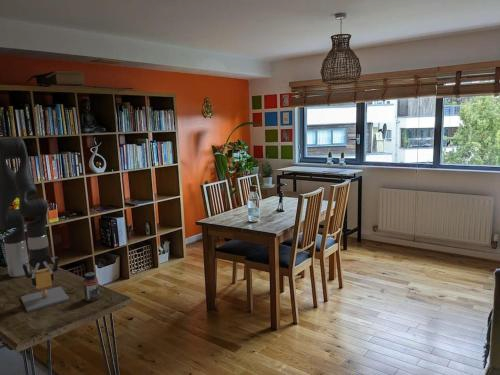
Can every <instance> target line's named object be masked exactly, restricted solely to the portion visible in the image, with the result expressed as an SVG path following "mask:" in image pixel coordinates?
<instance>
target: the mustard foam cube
mask: <svg viewBox="0 0 500 375" xmlns="http://www.w3.org/2000/svg"><path fill="white" fill-rule="evenodd" d="M35 278H36V286H35V287H36V290H40V289H42V288H47V287H51V286H53V281H51V272H50V271H48V270H47V268H45V269H40V270H37V273H36V274H35Z"/></svg>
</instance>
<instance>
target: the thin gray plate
mask: <svg viewBox="0 0 500 375" xmlns="http://www.w3.org/2000/svg"><path fill="white" fill-rule="evenodd" d="M40 289H41V291H37V292H34V293H29V294H26V295H23V296H20V298H21V301H22V303H23V306H24V307H25V310H26V312H27V313H29V312H33V311H37V310H40V309H45V308H48V307H51V306H54V305H58V304H62V303H65V302H68V301H69V302H70V299H71V298H70V297H69V295H68V294H67V293H66V292H65V290H64V289H63V288H62V286H57V287H53V288H50V289H47V287H44V288H40Z"/></svg>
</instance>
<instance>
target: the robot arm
mask: <svg viewBox="0 0 500 375" xmlns="http://www.w3.org/2000/svg"><path fill="white" fill-rule="evenodd" d="M13 159H19V161H20V163H19V166H18V169H17V170H16V172H15V171H14V170H13V169H12V168H11V167H9V165H8V164H7V160H13ZM34 180H35V179H34V178H33V175H32V171H31V165H30V159H29V155H28V150H27V146H26V143H25V141H24V139H23V138H21V137H16V136H15V137H14V136H13V137H1V138H0V230H5V231H6V230H11V229H14V230H13V231H12V232H10V233H9V234H7V235H5V236H4V237H3V243H4V244H3V245H4V249H5V257H6V264H7V271H8V276H9V277H12V278H17V277H21V276H25V277H26V279H31V284H32V286H34V287H36V278H35V274H36V273H37V271H39V270H43V269H47V270H48V271H50V272H51V281H52V282H53V281H54V280H55V278H54V273H55V272H58V269H59V258H58V256H54V257H51V255H50V254H51V253H50V247H49V243H50V242H49V240H48V235H47V229H46V228H47V227H46V221H47V215H48V210H49V209H48V208H49V204H48V202H47V200H45V199H44V198H43V197H42V198H39V197H38V198H34V197H35V196H37V194H38V188H37V186H36V184H35V181H34ZM17 198H18V202H19V203H18V208H15V209H9V208H10V206H11V205H12V204H13V203H14V202H15V201H16V200H17ZM31 198H32V199H31ZM33 217H36V218H35V219H34V220H33V221H30V222H27V223H26V225H25V221H24V220H25V219H24V218H33ZM25 227H26V229H25ZM25 230H26V232H25ZM26 235H27V236H26ZM26 237H27V242H26ZM51 261H52V263H53V266H52V268H51V267H50V263H51ZM30 266H31V267H32V270H31V271H30ZM30 272H31V273H30Z"/></svg>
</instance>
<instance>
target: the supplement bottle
mask: <svg viewBox="0 0 500 375" xmlns="http://www.w3.org/2000/svg"><path fill="white" fill-rule="evenodd" d="M82 284H83V285H82V286H83V294H84V300H85V301H86V302H94V301H97V300H98V299H99V298H100V296H101V295H100V286H99V279H98V277H97V276H96V273H95V272H91V271H90V272H86V273H85V274H84V279H83V281H82Z"/></svg>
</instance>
